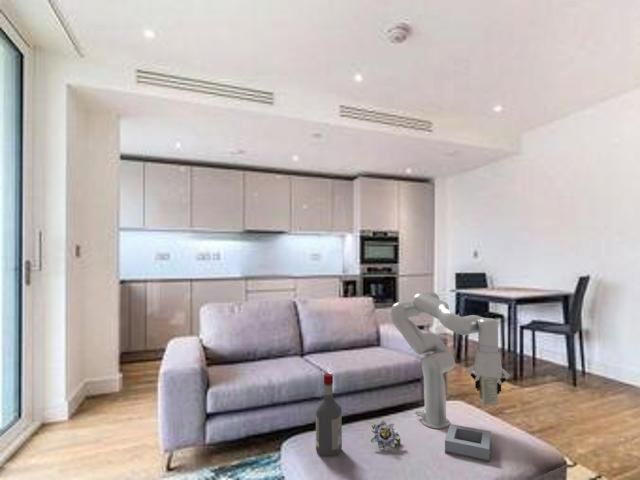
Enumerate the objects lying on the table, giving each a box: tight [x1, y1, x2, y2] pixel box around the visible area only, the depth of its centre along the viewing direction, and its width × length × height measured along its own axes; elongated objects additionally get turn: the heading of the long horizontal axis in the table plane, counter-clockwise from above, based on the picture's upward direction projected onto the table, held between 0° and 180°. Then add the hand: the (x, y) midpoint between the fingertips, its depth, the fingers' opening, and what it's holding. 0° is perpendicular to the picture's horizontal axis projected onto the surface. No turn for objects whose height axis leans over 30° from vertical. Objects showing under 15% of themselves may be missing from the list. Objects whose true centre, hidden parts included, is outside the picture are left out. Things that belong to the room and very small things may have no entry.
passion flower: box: [370, 419, 402, 452], centre depth 158 cm, size 11×11×12 cm
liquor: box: [315, 373, 343, 458], centre depth 154 cm, size 9×9×30 cm
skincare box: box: [478, 375, 499, 406], centre depth 159 cm, size 6×4×12 cm
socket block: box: [444, 423, 492, 464], centre depth 155 cm, size 16×16×5 cm
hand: (488, 391), depth 159 cm, fingers closed on skincare box, 7 cm apart
